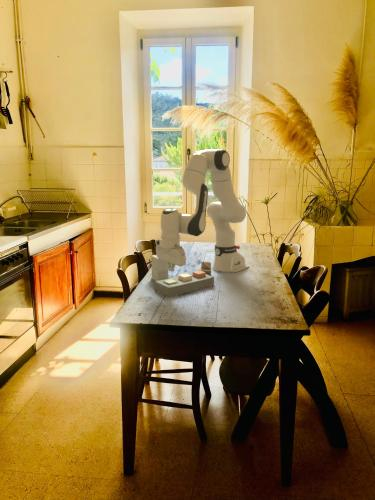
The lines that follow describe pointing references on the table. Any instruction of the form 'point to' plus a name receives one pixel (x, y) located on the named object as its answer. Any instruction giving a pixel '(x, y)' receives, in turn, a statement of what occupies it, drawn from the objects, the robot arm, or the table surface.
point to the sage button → (170, 282)
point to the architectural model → (206, 267)
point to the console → (183, 285)
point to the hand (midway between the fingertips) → (171, 270)
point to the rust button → (199, 274)
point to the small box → (159, 268)
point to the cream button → (184, 277)
